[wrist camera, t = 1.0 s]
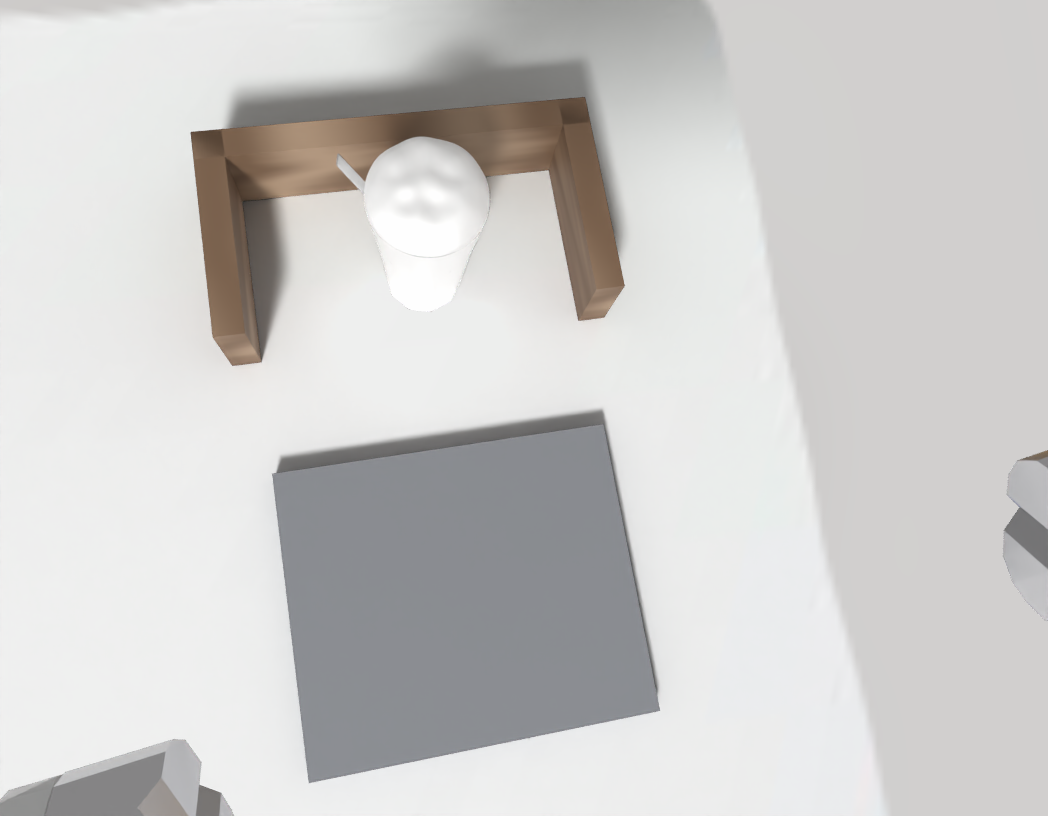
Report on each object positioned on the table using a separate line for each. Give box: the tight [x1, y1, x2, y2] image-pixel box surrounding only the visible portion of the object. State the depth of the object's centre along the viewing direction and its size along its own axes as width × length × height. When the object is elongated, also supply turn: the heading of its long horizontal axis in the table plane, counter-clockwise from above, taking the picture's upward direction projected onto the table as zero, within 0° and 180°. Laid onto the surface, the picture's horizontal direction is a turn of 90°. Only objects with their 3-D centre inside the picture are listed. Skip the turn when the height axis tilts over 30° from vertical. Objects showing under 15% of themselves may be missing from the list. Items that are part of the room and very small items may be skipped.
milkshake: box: [336, 137, 490, 312], centre depth 35 cm, size 4×5×10 cm
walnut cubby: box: [191, 97, 625, 366], centre depth 38 cm, size 16×9×4 cm, turn 100°
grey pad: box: [272, 424, 660, 783], centre depth 37 cm, size 14×12×1 cm
